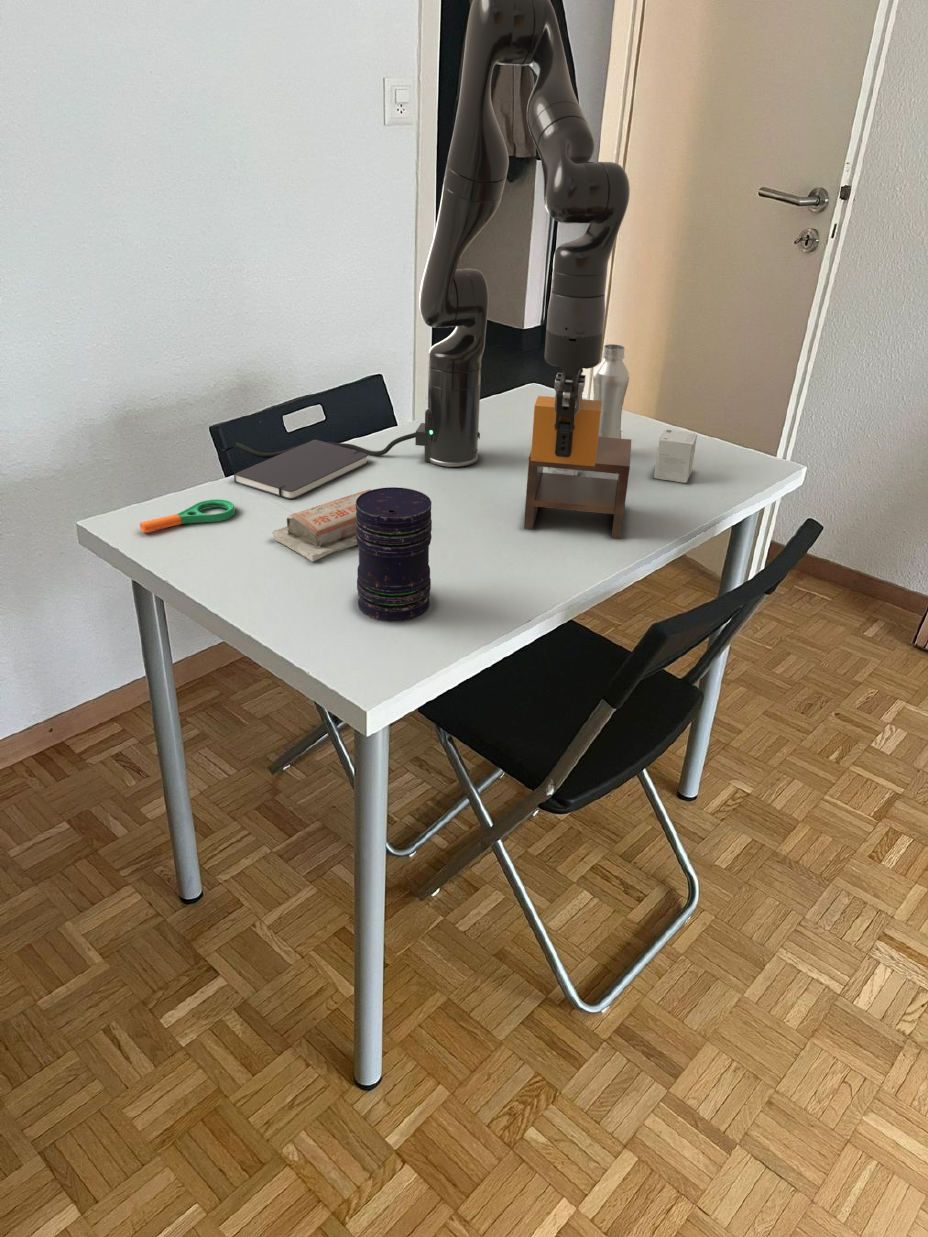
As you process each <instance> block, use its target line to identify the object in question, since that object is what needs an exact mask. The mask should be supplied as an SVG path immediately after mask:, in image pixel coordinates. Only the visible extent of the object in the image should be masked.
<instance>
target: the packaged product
mask: <svg viewBox="0 0 928 1237" xmlns="http://www.w3.org/2000/svg"><path fill="white" fill-rule="evenodd" d="M370 490H371V489H367V490H362V491H359V492H356V493H354V494H350V495H346V496H344V497H340V498H338V499H335V500H331V501H329V502H328V501H327V502H326V503H323V504H319V505H316V506H313V507H311V508H307V509H304V510H301V511H298V512H295V513H292V514H290V515H288V516H287V518H286V526H285V527H281V528H278V529H274V530H272V536H273V539H274V541H276V542H278V543H280V544H281V545H282V546H286V547H287V548H288V549H290V550H293V551H295V552H296V553H298V554H300V555H301V556H303V557H305V558H306V559H307V560H309V561H310V562H313V563H314V562H315V561H317V560H319V559H321V558H324V557H326V556H327V555H329V554H331V553H335V552H340V551H343V550H345V549H349V548H351V547H355V546H357V545H358V544H357V539H356V533H357V532H356V511H357V510H356V500H357V498H358V497H359V496H360V495H361V494H363V493H365V492H367V491H370Z"/></svg>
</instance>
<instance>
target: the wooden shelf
mask: <svg viewBox="0 0 928 1237" xmlns="http://www.w3.org/2000/svg"><path fill="white" fill-rule="evenodd" d="M631 453H632V439H629V438H621V439H620V438H609V437H598V445H597V455H596V462H595V466H584V465H573V464H562V463H551V462H540V461H531V451H530V452H529V456H528V464H527V465H528V466H527V479H526V492H525V504H524V505H525V508H524V518H523V519H524V520H523V529H524V530H533V529H534V526H535V522H536V518H537V514H538V510H539V508H547V509H557V510H558V509H559V510H565V511H566V510H567V511H577V512H586V513H597V514H598V513H599V514H608V515H613V519H612V529H611V531H612V532H611V539H612V538H613V539H619V540H620V539H621V538H622V532H623V531H622V530H623V524H624V515H625V508H626V498H627V492H628V484H629V476H630V470H631V469H630V468H631V455H632V454H631ZM544 468H548V469H549V468H550V469H551V468H559V469H570V470H579V471H582V472H593V473H604V474H613V475H618V476H617V479H616V478H605V477H594V476H585V475H578V476H575V475H564V474H554V473H550V472H543V470H544Z"/></svg>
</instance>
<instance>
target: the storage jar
mask: <svg viewBox="0 0 928 1237" xmlns="http://www.w3.org/2000/svg"><path fill="white" fill-rule="evenodd" d="M369 490H370V491H367V492H365V493H363V494H361V495H360V496H359V497H358V498H357V500H356V510H357V511H356V532H357V533H356V539H357V544H358V566H357V571H356V572H357V578H356V589H357V596H358V599H357V600H358V601H357V605H358V610H359V611H360V612H361V613H362V614H363V615H364V616H366V617H368V618H370V619H372V620H375V621H379V622H386V623H402V622H408V621H412V620H415V619H418V618H420V617H422V616H423V615H425V614H426V613H427V612H428V610H429V609H430V602H431V601H430V594H431V588H432V587H431V585H432V580H431V567H430V562H429V559H430V558H429V557H430V556H429V555H430V545H431V541H432V530H433V529H432V528H433V527H432V526H433V520H432V500H431V498H430V497H429V496H428V495H427V494H425V493H424V492H421V491H420V490H416V489H412V488H407V487H394V486H393V487H392V486H391V487H379V488H373V489H369Z"/></svg>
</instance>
